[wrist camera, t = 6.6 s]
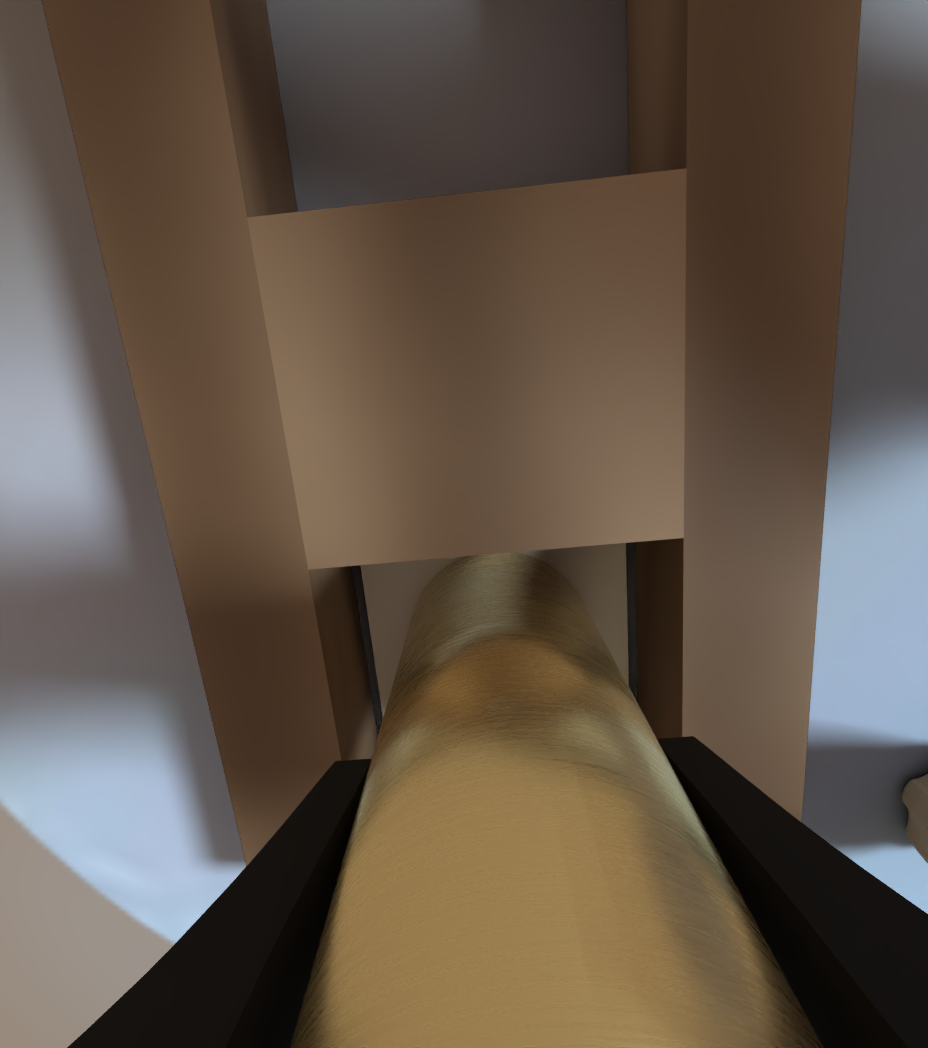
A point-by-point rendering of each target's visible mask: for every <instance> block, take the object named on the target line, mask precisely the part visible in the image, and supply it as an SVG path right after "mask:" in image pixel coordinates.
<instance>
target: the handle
mask: <svg viewBox="0 0 928 1048" xmlns="http://www.w3.org/2000/svg"><path fill="white" fill-rule="evenodd" d="M902 801H903V803H904V804H905V805H906V806H907V808H908V811H909V819H908V824H907V826H906V828H905V829H906V834H907V837H908V838H909V840H910V841H911V843H912V844H913V845H914V847H915V848H916V850H917V851H918V852H919V854H920V855H921V856H922V857H923V858H924V860H925V861H926V862H927V863H928V774H926V775H924V776H922V777H920V778H918V779H911V780H910V781H909V782H908V783H907V785H906V786H905V788H904V790H903V793H902Z"/></svg>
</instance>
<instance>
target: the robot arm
mask: <svg viewBox="0 0 928 1048" xmlns="http://www.w3.org/2000/svg"><path fill="white" fill-rule="evenodd" d="M657 740H658V742H659V744H660V746H661V747H662V749H663V751H664V753H665V755H666V757H667V759H668V760H669V762H670V764H671V766H672V768H673V770H674V772H675V773H676V775H677V777H678V779H679V781H680V783H681V784H682V786H683V788H684V790H685V792H686V794H687V796H688V797H689V799H690V801H691V803H692V805H693V807H694V809H695V810H696V812H697V814H698V816H699V818H700V820H701V822H702V823H703V825H704V827H705V829H706V831H707V833H708V834H709V836H710V838H711V840H712V842H713V844H714V846H715V847H716V849H717V851H718V853H719V855H720V857H721V859H722V860H723V862H724V864H725V866H726V868H727V870H728V872H729V873H730V875H731V877H732V879H733V881H734V883H735V884H736V886H737V888H738V890H739V892H740V894H741V896H742V897H743V899H744V901H745V903H746V905H747V907H748V909H749V910H750V912H751V914H752V916H753V918H754V920H755V922H756V923H757V925H758V927H759V929H760V931H761V933H762V935H763V936H764V938H765V940H766V942H767V944H768V946H769V947H770V949H771V951H772V953H773V955H774V957H775V959H776V960H777V962H778V964H779V966H780V968H781V970H782V972H783V973H784V975H785V977H786V979H787V981H788V983H789V985H790V986H791V988H792V990H793V992H794V994H795V996H796V997H797V999H798V1001H799V1003H800V1005H801V1007H802V1009H803V1010H804V1012H805V1014H806V1016H807V1018H808V1020H809V1022H810V1023H811V1025H812V1027H813V1029H814V1031H815V1033H816V1035H817V1036H818V1038H819V1040H820V1042H821V1044H822V1046H823V1047H824V1048H928V914H927V913H925V912H924V911H922V910H921V909H920V908H918V907H917V906H915V905H914V904H912V903H911V902H910V901H908V900H907V899H905V898H904V897H903V896H901V895H900V894H898V893H897V892H896V891H894V890H893V889H891V888H890V887H888V886H887V885H886V884H884V883H883V882H881V881H880V880H879V879H877V878H876V877H874V876H873V875H871V874H870V873H869V872H867V871H866V870H864V869H863V868H862V867H860V866H859V865H857V864H856V863H855V862H853V861H852V860H851V859H849V858H848V857H847V856H845V855H844V854H843V853H841V852H840V851H839V850H837V849H836V848H834V847H833V846H832V845H830V844H829V843H828V842H826V841H825V840H824V839H822V838H821V837H820V836H819V835H817V834H816V833H815V832H813V831H812V830H811V829H809V828H808V827H807V826H805V825H804V824H803V823H802V822H800V821H799V820H798V819H796V818H795V817H794V816H793V815H791V814H790V813H789V812H787V811H786V810H785V809H784V808H782V807H781V806H780V805H779V804H777V803H776V802H775V801H773V800H772V799H771V798H770V797H768V796H767V795H766V794H765V793H763V792H762V791H761V790H760V789H758V788H757V787H756V786H755V785H754V784H752V783H751V782H750V781H749V780H747V779H746V778H745V777H744V776H742V775H741V774H740V773H739V772H737V771H736V770H735V769H734V768H733V767H731V766H730V765H729V764H728V763H726V762H725V761H724V760H723V759H722V758H720V757H719V756H718V755H717V754H715V753H714V752H713V751H712V750H710V749H709V748H708V747H707V746H705V745H704V744H703V743H702V742H700V741H699V740H698V739H697V738H695V737H694V736H689V737H674V738H660V739H657ZM370 763H371V759H357V760H343V761H335V762H334V763H333V764H332V765H331V767H330V768H329V769H328V770H327V771H326V772H325V774H324V775H323V776H322V777H321V778H320V779H319V781H318V782H317V783H316V784H315V786H314V787H313V788H312V789H311V790H310V792H309V793H308V794H307V795H306V797H305V798H304V799H303V800H302V801H301V803H300V804H299V805H298V806H297V807H296V809H295V810H294V811H293V812H292V813H291V815H290V816H289V817H288V818H287V820H286V821H285V822H284V823H283V824H282V826H281V827H280V828H279V829H278V830H277V832H276V833H275V834H274V835H273V836H272V837H271V838H270V840H269V841H268V842H267V843H266V844H265V845H264V847H263V848H262V849H261V850H260V851H259V852H258V854H257V855H256V856H255V857H254V858H253V859H252V861H251V862H250V863H249V864H248V865H247V866H246V867H245V869H244V870H243V871H242V872H241V873H240V874H239V876H238V877H237V878H236V879H235V880H234V881H233V882H232V883H231V884H230V886H229V887H228V888H227V889H226V890H225V891H224V892H223V893H222V894H221V895H220V896H219V898H218V899H217V900H216V901H215V902H214V903H213V904H212V905H211V906H210V907H209V908H208V909H207V910H206V911H205V913H204V914H203V915H202V916H201V917H200V918H199V919H198V920H197V921H196V922H195V923H194V924H193V925H192V926H191V928H190V929H189V930H188V931H187V932H186V933H185V934H184V935H183V936H182V937H181V938H180V939H179V940H178V941H177V943H176V944H175V945H174V946H173V947H172V948H171V949H170V950H169V951H168V952H167V953H166V954H165V955H164V956H163V957H162V958H161V959H160V960H159V961H158V962H157V963H156V964H155V965H154V966H153V967H152V968H151V969H150V970H149V971H148V972H147V973H146V974H145V975H144V976H143V977H142V978H141V979H140V980H139V981H138V982H137V983H136V984H135V985H134V986H133V987H132V988H130V989H129V990H128V991H127V992H126V993H125V994H124V995H123V996H122V997H121V998H120V999H119V1000H118V1001H117V1002H116V1003H115V1004H114V1005H113V1006H111V1008H109V1009H108V1010H107V1011H106V1012H105V1013H104V1014H103V1015H102V1016H101V1017H100V1018H99V1019H98V1020H97V1021H96V1022H95V1023H94V1024H92V1026H90V1027H89V1028H88V1029H87V1030H86V1031H85V1032H84V1033H83V1034H82V1035H81V1036H80V1037H78V1038H77V1039H76V1040H75V1041H74V1042H73V1043H72V1044H71V1045H70V1046H69V1047H68V1048H290V1045H291V1042H292V1038H293V1035H294V1031H295V1028H296V1024H297V1020H298V1017H299V1013H300V1010H301V1006H302V1003H303V999H304V996H305V992H306V989H307V985H308V982H309V978H310V975H311V971H312V967H313V964H314V960H315V957H316V953H317V950H318V946H319V943H320V939H321V936H322V932H323V929H324V925H325V922H326V918H327V914H328V911H329V907H330V904H331V900H332V897H333V893H334V890H335V886H336V883H337V879H338V876H339V872H340V869H341V865H342V861H343V858H344V854H345V851H346V847H347V844H348V840H349V837H350V833H351V830H352V826H353V823H354V819H355V816H356V812H357V808H358V805H359V801H360V798H361V794H362V791H363V787H364V784H365V780H366V777H367V773H368V770H369V766H370Z"/></svg>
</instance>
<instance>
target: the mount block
mask: <svg viewBox="0 0 928 1048" xmlns="http://www.w3.org/2000/svg"><path fill="white" fill-rule="evenodd" d="M861 2H862V0H626V16H627V79H628V143H629V175H623V176H614V177H605V178H596V179H587V180H578V181H569V182H560V183H551V184H542V185H533V186H524V187H515V188H506V189H497V190H488V191H479V192H470V193H462V194H453V195H444V196H435V197H426V198H417V199H408V200H399V201H390V202H381V203H372V204H363V205H354V206H345V207H336V208H327V209H318V210H309V211H300V212H298V211H297V205H296V198H295V191H294V185H293V178H292V172H291V165H290V159H289V152H288V145H287V139H286V132H285V126H284V119H283V113H282V106H281V99H280V93H279V86H278V80H277V73H276V67H275V60H274V54H273V47H272V40H271V34H270V27H269V21H268V14H267V8H266V1H265V0H42V5H43V9H44V13H45V17H46V21H47V26H48V30H49V34H50V38H51V43H52V47H53V51H54V55H55V59H56V64H57V68H58V72H59V76H60V80H61V85H62V89H63V93H64V97H65V102H66V106H67V110H68V114H69V118H70V123H71V127H72V131H73V135H74V140H75V144H76V148H77V152H78V156H79V161H80V165H81V169H82V173H83V177H84V182H85V186H86V190H87V194H88V199H89V203H90V207H91V211H92V215H93V220H94V224H95V228H96V232H97V237H98V241H99V245H100V249H101V253H102V258H103V262H104V266H105V270H106V275H107V279H108V283H109V287H110V291H111V296H112V300H113V304H114V308H115V312H116V317H117V321H118V325H119V329H120V334H121V338H122V342H123V346H124V350H125V355H126V359H127V363H128V367H129V372H130V376H131V380H132V384H133V388H134V393H135V397H136V401H137V405H138V409H139V414H140V418H141V422H142V426H143V431H144V435H145V439H146V443H147V447H148V452H149V456H150V460H151V464H152V469H153V473H154V477H155V481H156V485H157V490H158V494H159V498H160V502H161V506H162V511H163V515H164V519H165V523H166V528H167V532H168V536H169V540H170V544H171V549H172V553H173V557H174V561H175V566H176V570H177V574H178V578H179V582H180V587H181V591H182V595H183V599H184V604H185V608H186V612H187V616H188V620H189V625H190V629H191V633H192V637H193V641H194V646H195V650H196V654H197V658H198V663H199V667H200V671H201V675H202V679H203V684H204V688H205V692H206V696H207V701H208V705H209V709H210V713H211V717H212V722H213V726H214V730H215V734H216V738H217V743H218V747H219V751H220V755H221V760H222V764H223V768H224V772H225V776H226V781H227V785H228V789H229V793H230V798H231V802H232V806H233V810H234V814H235V819H236V823H237V827H238V831H239V835H240V840H241V844H242V848H243V852H244V857H245V861H246V865H248V864H249V863H250V862H251V861H252V859H253V858H254V857H255V856H256V855H257V854H258V852H259V851H260V850H261V849H262V848H263V847H264V845H265V844H266V843H267V842H268V841H269V840H270V838H271V837H272V836H273V835H274V834H275V833H276V832H277V830H278V829H279V828H280V827H281V826H282V824H283V823H284V822H285V821H286V820H287V818H288V817H289V816H290V815H291V813H292V812H293V811H294V810H295V809H296V807H297V806H298V805H299V804H300V803H301V801H302V800H303V799H304V798H305V797H306V795H307V794H308V793H309V792H310V790H311V789H312V788H313V787H314V786H315V784H316V783H317V782H318V781H319V779H320V778H321V777H322V776H323V775H324V774H325V772H326V771H327V770H328V769H329V768H330V767H331V765H332V764H333V763H334V762H335V761H343V760H357V759H372V755H373V752H374V748H375V745H376V741H377V738H378V736H377V730H376V723H375V716H374V710H373V703H372V697H371V690H370V684H369V677H368V671H367V664H366V657H365V651H364V644H363V638H362V631H361V625H360V618H359V611H358V605H357V598H356V592H355V585H354V579H353V572H352V566H357V565H360V566H361V573H362V579H363V586H364V593H365V600H366V606H367V613H368V620H369V627H370V633H371V640H372V647H373V654H374V660H375V667H376V674H377V681H378V688H379V694H380V701H381V708H382V715H383V717H384V713H385V710H386V706H387V702H388V699H389V695H390V692H391V688H392V685H393V681H394V678H395V674H396V671H397V667H398V664H399V660H400V657H401V653H402V649H403V646H404V642H405V639H406V635H407V632H408V628H409V625H410V621H411V618H412V614H413V611H414V608H415V606H416V603H417V601H418V599H419V597H420V595H421V593H422V592H423V590H424V589H425V588H426V586H427V585H428V583H429V582H430V581H431V580H432V579H433V578H434V577H435V576H436V575H437V574H438V573H440V572H441V571H442V570H443V569H445V568H446V567H447V566H449V565H451V564H452V563H454V562H456V561H458V560H460V559H462V558H465V557H467V556H476V555H488V554H499V553H511V552H518V553H523V554H527V555H530V556H533V557H535V558H538V559H540V560H542V561H544V562H546V563H548V564H550V565H551V566H552V567H554V568H555V569H557V570H558V571H559V572H560V573H562V574H563V575H564V576H565V577H566V578H567V579H568V580H569V581H570V583H571V584H572V585H573V586H574V588H575V589H576V591H577V592H578V594H579V596H580V597H581V599H582V601H583V603H584V605H585V607H586V609H587V610H588V612H589V614H590V616H591V618H592V620H593V621H594V623H595V625H596V627H597V629H598V631H599V633H600V634H601V636H602V638H603V640H604V642H605V644H606V646H607V647H608V649H609V651H610V653H611V655H612V657H613V659H614V660H615V662H616V664H617V666H618V668H619V670H620V671H621V673H622V675H623V677H624V679H625V681H626V683H627V684H628V686H629V673H628V624H627V574H626V543H630V542H635V585H636V649H637V703H638V705H639V707H640V709H641V710H642V712H643V714H644V716H645V718H646V720H647V721H648V723H649V725H650V727H651V729H652V731H653V733H654V734H655V736H656V738H657V739H660V738H674V737H689V736H694V737H695V738H697V739H698V740H699V741H700V742H702V743H703V744H704V745H705V746H707V747H708V748H709V749H710V750H712V751H713V752H714V753H715V754H717V755H718V756H719V757H720V758H722V759H723V760H724V761H725V762H726V763H728V764H729V765H730V766H731V767H733V768H734V769H735V770H736V771H737V772H739V773H740V774H741V775H742V776H744V777H745V778H746V779H747V780H749V781H750V782H751V783H752V784H754V785H755V786H756V787H757V788H758V789H760V790H761V791H762V792H763V793H765V794H766V795H767V796H768V797H770V798H771V799H772V800H773V801H775V802H776V803H777V804H779V805H780V806H781V807H782V808H784V809H785V810H786V811H787V812H789V813H790V814H791V815H793V816H794V817H795V818H796V819H798V820H799V821H800V822H801V821H802V807H803V794H804V780H805V766H806V753H807V739H808V725H809V712H810V698H811V684H812V671H813V657H814V643H815V630H816V616H817V602H818V589H819V575H820V561H821V548H822V534H823V520H824V507H825V493H826V479H827V466H828V452H829V439H830V425H831V411H832V398H833V384H834V370H835V357H836V343H837V329H838V316H839V302H840V288H841V275H842V261H843V247H844V234H845V220H846V206H847V193H848V179H849V165H850V152H851V138H852V125H853V111H854V97H855V84H856V70H857V56H858V43H859V29H860V15H861Z"/></svg>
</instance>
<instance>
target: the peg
mask: <svg viewBox="0 0 928 1048" xmlns="http://www.w3.org/2000/svg"><path fill="white" fill-rule="evenodd" d="M290 1048H824V1047H823V1046H822V1044H821V1042H820V1040H819V1038H818V1036H817V1035H816V1033H815V1031H814V1029H813V1027H812V1025H811V1023H810V1022H809V1020H808V1018H807V1016H806V1014H805V1012H804V1010H803V1009H802V1007H801V1005H800V1003H799V1001H798V999H797V997H796V996H795V994H794V992H793V990H792V988H791V986H790V985H789V983H788V981H787V979H786V977H785V975H784V973H783V972H782V970H781V968H780V966H779V964H778V962H777V960H776V959H775V957H774V955H773V953H772V951H771V949H770V947H769V946H768V944H767V942H766V940H765V938H764V936H763V935H762V933H761V931H760V929H759V927H758V925H757V923H756V922H755V920H754V918H753V916H752V914H751V912H750V910H749V909H748V907H747V905H746V903H745V901H744V899H743V897H742V896H741V894H740V892H739V890H738V888H737V886H736V884H735V883H734V881H733V879H732V877H731V875H730V873H729V872H728V870H727V868H726V866H725V864H724V862H723V860H722V859H721V857H720V855H719V853H718V851H717V849H716V847H715V846H714V844H713V842H712V840H711V838H710V836H709V834H708V833H707V831H706V829H705V827H704V825H703V823H702V822H701V820H700V818H699V816H698V814H697V812H696V810H695V809H694V807H693V805H692V803H691V801H690V799H689V797H688V796H687V794H686V792H685V790H684V788H683V786H682V784H681V783H680V781H679V779H678V777H677V775H676V773H675V772H674V770H673V768H672V766H671V764H670V762H669V760H668V759H667V757H666V755H665V753H664V751H663V749H662V747H661V746H660V744H659V742H658V740H657V738H656V736H655V734H654V733H653V731H652V729H651V727H650V725H649V723H648V721H647V720H646V718H645V716H644V714H643V712H642V710H641V709H640V707H639V705H638V703H637V701H636V699H635V697H634V696H633V694H632V692H631V690H630V688H629V686H628V684H627V683H626V681H625V679H624V677H623V675H622V673H621V671H620V670H619V668H618V666H617V664H616V662H615V660H614V659H613V657H612V655H611V653H610V651H609V649H608V647H607V646H606V644H605V642H604V640H603V638H602V636H601V634H600V633H599V631H598V629H597V627H596V625H595V623H594V621H593V620H592V618H591V616H590V614H589V612H588V610H587V609H586V607H585V605H584V603H583V601H582V599H581V597H580V596H579V594H578V592H577V591H576V589H575V588H574V586H573V585H572V584H571V583H570V581H569V580H568V579H567V578H566V577H565V576H564V575H563V574H562V573H560V572H559V571H558V570H557V569H555V568H554V567H552V566H551V565H550V564H548V563H546V562H544V561H542V560H540V559H538V558H535V557H533V556H530V555H527V554H523V553H518V552H511V553H499V554H488V555H476V556H467V557H465V558H462V559H460V560H458V561H456V562H454V563H452V564H451V565H449V566H447V567H446V568H445V569H443V570H442V571H441V572H440V573H438V574H437V575H436V576H435V577H434V578H433V579H432V580H431V581H430V582H429V583H428V585H427V586H426V588H425V589H424V590H423V592H422V593H421V595H420V597H419V599H418V601H417V603H416V606H415V608H414V611H413V614H412V618H411V621H410V625H409V628H408V632H407V635H406V639H405V642H404V646H403V649H402V653H401V657H400V660H399V664H398V667H397V671H396V674H395V678H394V681H393V685H392V688H391V692H390V695H389V699H388V702H387V706H386V710H385V713H384V717H383V720H382V724H381V727H380V731H379V734H378V738H377V741H376V745H375V748H374V752H373V755H372V759H371V763H370V766H369V770H368V773H367V777H366V780H365V784H364V787H363V791H362V794H361V798H360V801H359V805H358V808H357V812H356V816H355V819H354V823H353V826H352V830H351V833H350V837H349V840H348V844H347V847H346V851H345V854H344V858H343V861H342V865H341V869H340V872H339V876H338V879H337V883H336V886H335V890H334V893H333V897H332V900H331V904H330V907H329V911H328V914H327V918H326V922H325V925H324V929H323V932H322V936H321V939H320V943H319V946H318V950H317V953H316V957H315V960H314V964H313V967H312V971H311V975H310V978H309V982H308V985H307V989H306V992H305V996H304V999H303V1003H302V1006H301V1010H300V1013H299V1017H298V1020H297V1024H296V1028H295V1031H294V1035H293V1038H292V1042H291V1045H290Z"/></svg>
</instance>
